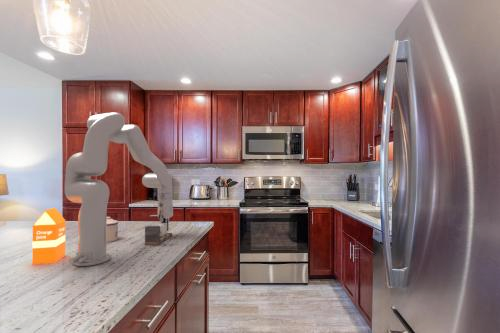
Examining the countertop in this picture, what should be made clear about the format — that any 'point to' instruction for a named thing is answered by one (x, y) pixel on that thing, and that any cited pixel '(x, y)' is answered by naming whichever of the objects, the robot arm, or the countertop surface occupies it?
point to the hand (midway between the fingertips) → (164, 231)
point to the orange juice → (49, 237)
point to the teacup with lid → (112, 230)
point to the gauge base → (154, 235)
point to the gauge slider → (163, 229)
